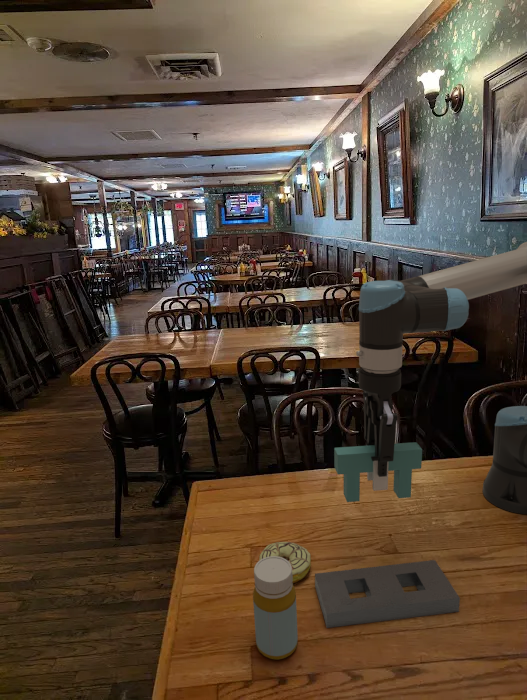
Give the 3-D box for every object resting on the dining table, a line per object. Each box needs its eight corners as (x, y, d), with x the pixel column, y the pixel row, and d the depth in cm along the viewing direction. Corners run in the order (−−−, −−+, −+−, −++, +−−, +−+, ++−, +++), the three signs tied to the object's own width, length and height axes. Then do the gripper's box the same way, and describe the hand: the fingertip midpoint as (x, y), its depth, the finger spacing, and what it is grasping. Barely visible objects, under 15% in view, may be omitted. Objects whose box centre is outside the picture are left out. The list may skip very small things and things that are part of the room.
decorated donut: (297, 547, 106) (296, 532, 105) (320, 578, 96) (319, 562, 95) (252, 560, 103) (251, 545, 102) (271, 594, 93) (270, 578, 92)
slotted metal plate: (434, 572, 96) (434, 559, 95) (458, 611, 86) (459, 597, 86) (315, 586, 94) (314, 573, 93) (326, 628, 84) (326, 613, 84)
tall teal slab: (414, 488, 96) (416, 442, 93) (419, 496, 93) (422, 449, 91) (334, 494, 95) (334, 447, 93) (337, 502, 92) (337, 455, 90)
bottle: (294, 665, 78) (291, 586, 74) (252, 659, 79) (246, 582, 75) (300, 629, 84) (297, 556, 80) (260, 625, 86) (256, 552, 82)
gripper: (348, 357, 95) (348, 465, 101) (372, 383, 79) (369, 509, 85) (386, 354, 95) (383, 462, 101) (416, 380, 80) (411, 506, 86)
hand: (377, 483), depth 93 cm, fingers closed on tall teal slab, 3 cm apart
